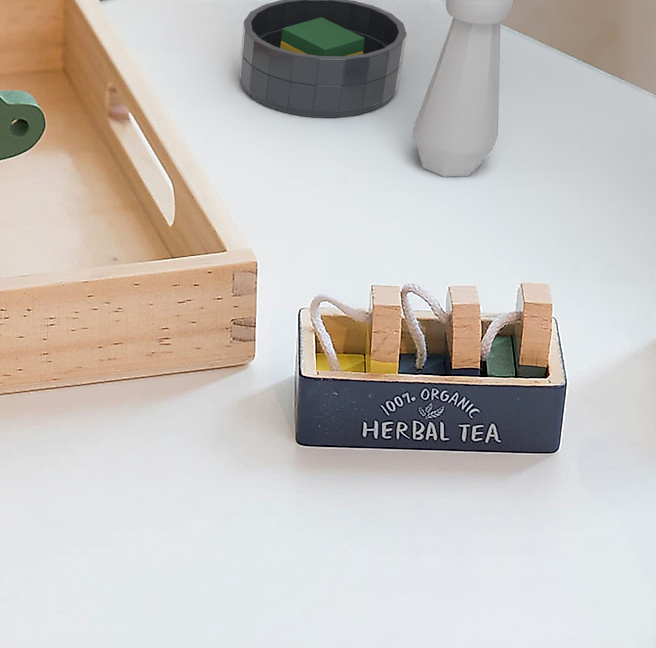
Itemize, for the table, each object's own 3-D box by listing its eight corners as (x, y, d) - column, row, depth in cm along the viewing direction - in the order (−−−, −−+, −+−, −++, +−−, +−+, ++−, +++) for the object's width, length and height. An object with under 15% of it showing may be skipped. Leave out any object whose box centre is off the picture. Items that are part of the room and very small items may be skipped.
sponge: (316, 60, 121) (321, 16, 119) (359, 82, 118) (365, 37, 115) (277, 72, 119) (282, 27, 117) (319, 94, 116) (325, 49, 114)
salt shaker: (456, 190, 106) (491, 2, 97) (391, 162, 109) (420, -23, 100) (507, 165, 109) (546, -20, 100) (442, 139, 112) (475, -43, 103)
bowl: (324, 42, 125) (331, -14, 122) (430, 94, 118) (440, 35, 114) (207, 76, 120) (211, 18, 117) (309, 133, 113) (316, 72, 109)
